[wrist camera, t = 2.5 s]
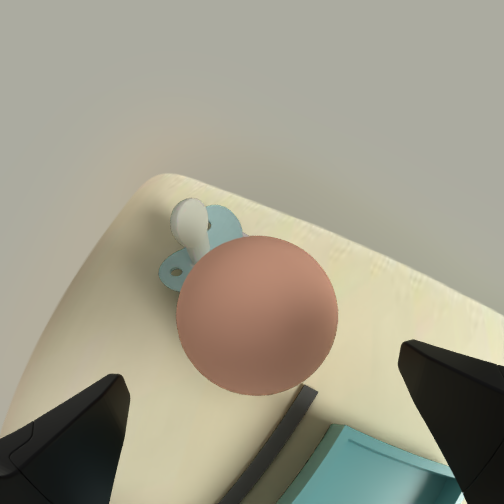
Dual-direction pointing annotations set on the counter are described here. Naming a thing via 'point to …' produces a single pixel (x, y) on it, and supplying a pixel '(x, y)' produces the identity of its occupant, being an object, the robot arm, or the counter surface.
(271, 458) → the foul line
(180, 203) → the pacifier
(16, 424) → the counter surface
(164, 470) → the counter surface
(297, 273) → the ball
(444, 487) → the tray
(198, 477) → the counter surface
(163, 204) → the counter surface
